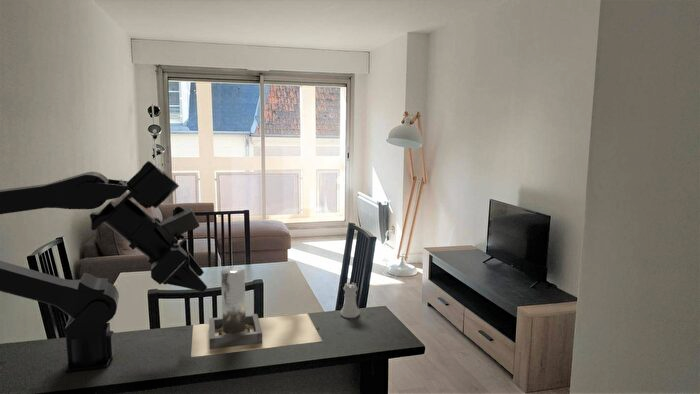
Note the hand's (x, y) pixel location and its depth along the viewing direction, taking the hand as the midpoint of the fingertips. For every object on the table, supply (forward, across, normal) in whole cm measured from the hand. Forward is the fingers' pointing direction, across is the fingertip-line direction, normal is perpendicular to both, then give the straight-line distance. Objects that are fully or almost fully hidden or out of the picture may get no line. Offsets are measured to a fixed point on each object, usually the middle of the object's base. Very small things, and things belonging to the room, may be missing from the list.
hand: (203, 281), depth 86 cm
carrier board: (+16, 0, +2) cm, 16 cm away
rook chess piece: (+31, +2, -13) cm, 33 cm away
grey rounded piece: (+12, 0, +4) cm, 13 cm away
